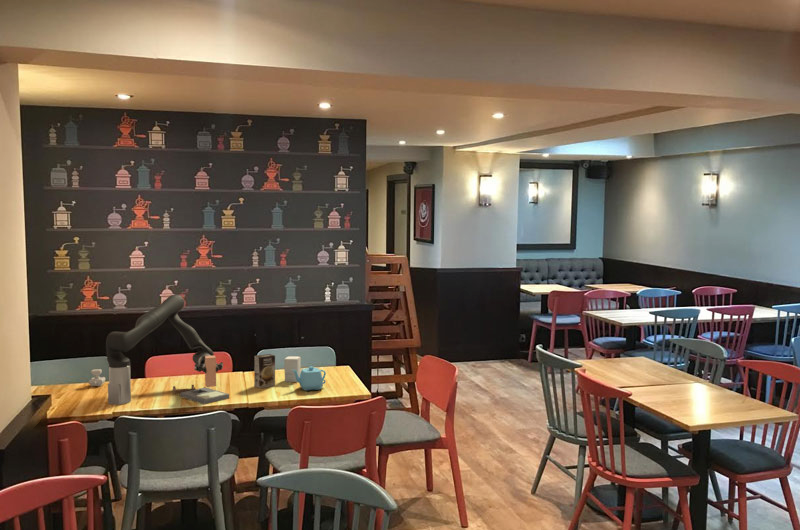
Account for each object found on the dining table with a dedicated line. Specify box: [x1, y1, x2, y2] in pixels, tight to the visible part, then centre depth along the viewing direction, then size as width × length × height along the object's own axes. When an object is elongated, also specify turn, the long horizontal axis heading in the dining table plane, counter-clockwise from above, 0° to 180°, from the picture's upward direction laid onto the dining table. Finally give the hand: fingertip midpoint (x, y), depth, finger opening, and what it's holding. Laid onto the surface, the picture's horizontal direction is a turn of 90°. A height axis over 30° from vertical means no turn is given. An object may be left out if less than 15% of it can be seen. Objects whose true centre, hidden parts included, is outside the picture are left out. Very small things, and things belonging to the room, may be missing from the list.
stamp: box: [88, 368, 106, 387], centre depth 334 cm, size 9×7×8 cm
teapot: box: [292, 365, 327, 392], centre depth 331 cm, size 12×18×12 cm
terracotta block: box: [204, 355, 217, 388], centre depth 310 cm, size 4×4×14 cm
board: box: [179, 386, 230, 405], centre depth 314 cm, size 20×14×2 cm
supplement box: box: [283, 355, 302, 383], centre depth 349 cm, size 7×7×13 cm
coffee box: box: [253, 353, 276, 389], centre depth 336 cm, size 9×6×16 cm
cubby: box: [172, 384, 196, 395], centre depth 325 cm, size 9×10×2 cm
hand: (211, 370), depth 307 cm, fingers closed on terracotta block, 4 cm apart
